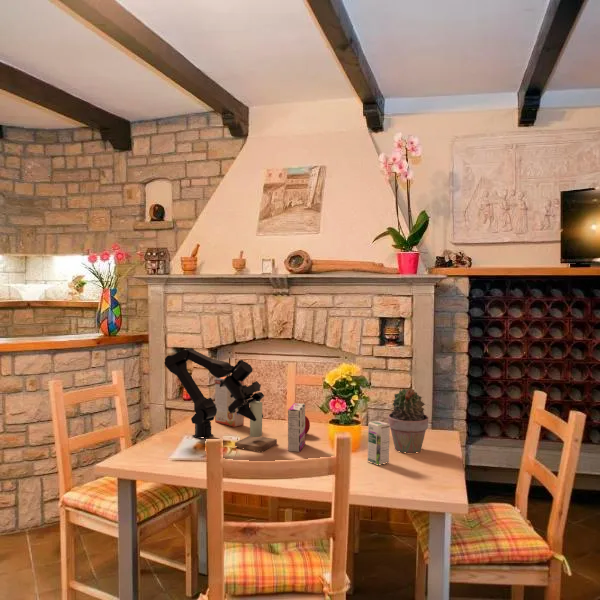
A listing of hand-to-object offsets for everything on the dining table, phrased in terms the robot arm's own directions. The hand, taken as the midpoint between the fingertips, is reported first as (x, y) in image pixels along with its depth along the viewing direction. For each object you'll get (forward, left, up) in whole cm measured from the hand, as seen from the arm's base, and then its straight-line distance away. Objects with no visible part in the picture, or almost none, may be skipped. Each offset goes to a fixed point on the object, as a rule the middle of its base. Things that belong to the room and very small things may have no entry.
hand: (259, 419), depth 218 cm
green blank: (-1, 0, -7) cm, 7 cm away
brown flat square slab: (-1, 0, -11) cm, 11 cm away
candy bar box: (+13, +8, -11) cm, 19 cm away
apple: (+3, +23, -11) cm, 25 cm away
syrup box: (+47, +12, -11) cm, 49 cm away
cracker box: (-33, +18, -11) cm, 39 cm away
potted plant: (+48, +33, -11) cm, 59 cm away
